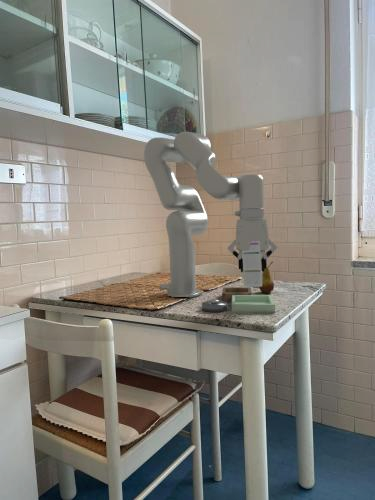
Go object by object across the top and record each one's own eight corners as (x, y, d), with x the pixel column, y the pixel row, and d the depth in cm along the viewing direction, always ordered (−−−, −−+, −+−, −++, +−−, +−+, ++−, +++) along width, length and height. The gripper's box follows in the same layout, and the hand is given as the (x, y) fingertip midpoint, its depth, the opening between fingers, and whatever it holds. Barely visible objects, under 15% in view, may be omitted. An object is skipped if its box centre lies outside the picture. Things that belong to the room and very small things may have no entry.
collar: (222, 301, 130) (222, 293, 130) (223, 295, 140) (223, 287, 140) (251, 301, 129) (251, 293, 128) (250, 295, 139) (250, 287, 138)
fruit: (268, 290, 146) (268, 259, 145) (276, 293, 141) (276, 261, 140) (255, 291, 145) (255, 260, 143) (263, 294, 139) (263, 262, 138)
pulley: (200, 312, 117) (200, 303, 117) (203, 306, 125) (203, 297, 125) (226, 312, 116) (226, 303, 116) (227, 306, 124) (227, 297, 124)
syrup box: (262, 286, 118) (261, 240, 116) (243, 287, 119) (241, 241, 117) (262, 283, 123) (260, 239, 122) (244, 283, 124) (242, 239, 123)
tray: (231, 312, 116) (231, 304, 116) (232, 302, 129) (232, 295, 129) (274, 312, 115) (274, 304, 114) (271, 302, 127) (271, 295, 127)
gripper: (223, 215, 116) (224, 273, 118) (281, 213, 114) (281, 272, 116) (224, 215, 124) (225, 270, 125) (278, 213, 121) (278, 269, 123)
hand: (252, 270), depth 121 cm, fingers closed on syrup box, 6 cm apart
